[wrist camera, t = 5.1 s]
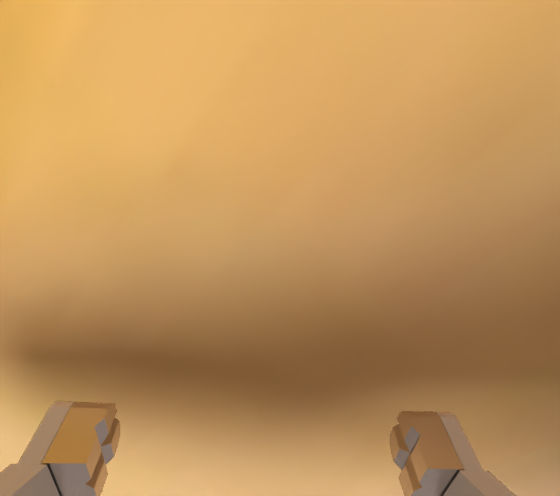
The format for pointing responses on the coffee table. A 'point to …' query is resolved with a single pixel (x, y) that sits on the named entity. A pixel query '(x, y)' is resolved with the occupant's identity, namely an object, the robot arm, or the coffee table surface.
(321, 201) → the coffee table surface
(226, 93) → the coffee table surface
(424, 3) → the coffee table surface
